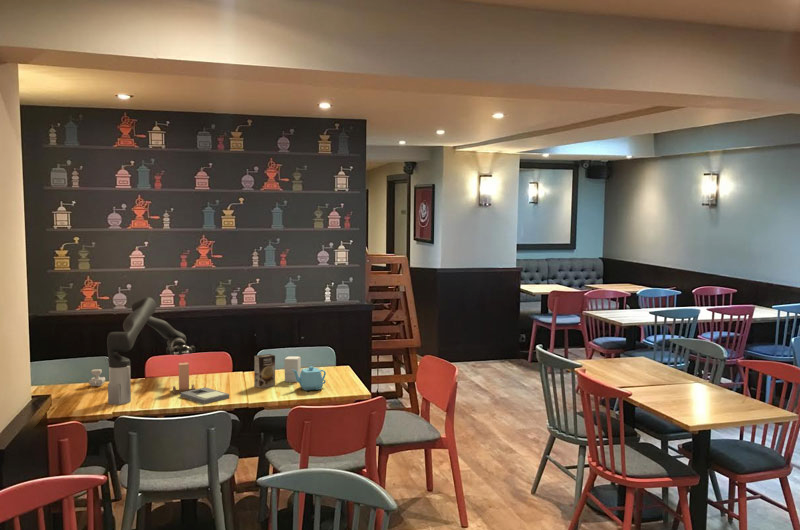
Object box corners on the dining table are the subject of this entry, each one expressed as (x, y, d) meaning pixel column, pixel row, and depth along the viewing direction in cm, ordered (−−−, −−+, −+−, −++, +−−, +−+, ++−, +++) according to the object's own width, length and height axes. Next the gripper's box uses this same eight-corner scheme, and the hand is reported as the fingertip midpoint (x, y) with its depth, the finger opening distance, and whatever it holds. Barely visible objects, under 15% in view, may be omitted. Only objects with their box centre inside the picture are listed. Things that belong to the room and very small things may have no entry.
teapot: (288, 387, 334) (288, 365, 334) (323, 384, 340) (323, 363, 340) (293, 393, 323) (293, 370, 322) (328, 390, 329) (328, 368, 328)
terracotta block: (189, 391, 324) (188, 364, 323) (179, 392, 322) (179, 364, 321) (188, 389, 328) (187, 362, 327) (178, 390, 326) (178, 363, 325)
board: (229, 398, 313) (229, 393, 312) (204, 404, 302) (203, 399, 302) (205, 391, 325) (205, 386, 325) (180, 396, 315) (180, 392, 314)
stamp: (102, 387, 331) (101, 371, 331) (88, 388, 330) (87, 372, 329) (106, 383, 340) (105, 367, 339) (92, 384, 338) (92, 368, 338)
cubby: (195, 392, 322) (195, 388, 322) (174, 394, 319) (174, 390, 318) (193, 388, 331) (193, 384, 331) (172, 390, 327) (172, 386, 327)
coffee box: (259, 388, 331) (259, 357, 330) (254, 386, 336) (253, 355, 335) (275, 385, 337) (275, 355, 336) (269, 383, 342) (269, 353, 341)
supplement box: (301, 379, 352) (301, 356, 351) (297, 382, 345) (297, 359, 344) (287, 378, 353) (287, 355, 352) (284, 382, 346) (284, 358, 345)
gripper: (164, 340, 346) (166, 346, 331) (192, 338, 352) (195, 344, 337) (165, 354, 347) (167, 360, 332) (193, 352, 352) (196, 358, 337)
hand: (181, 352), depth 334 cm, fingers open, 8 cm apart
